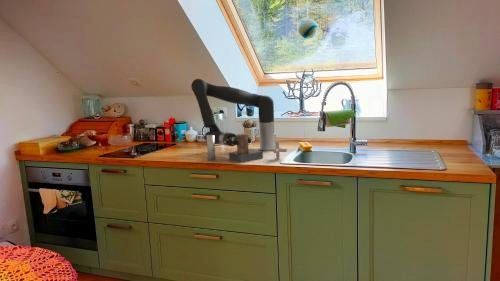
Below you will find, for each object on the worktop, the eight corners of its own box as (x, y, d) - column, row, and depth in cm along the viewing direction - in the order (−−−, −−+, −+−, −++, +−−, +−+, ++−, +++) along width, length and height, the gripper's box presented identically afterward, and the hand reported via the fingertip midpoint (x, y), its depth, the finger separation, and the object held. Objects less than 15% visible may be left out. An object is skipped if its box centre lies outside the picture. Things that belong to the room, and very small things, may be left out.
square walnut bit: (244, 158, 215) (243, 133, 213) (248, 159, 212) (247, 134, 209) (237, 159, 212) (236, 134, 210) (242, 160, 209) (241, 135, 207)
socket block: (251, 155, 222) (250, 148, 221) (262, 158, 213) (262, 151, 213) (229, 159, 213) (229, 152, 212) (241, 162, 204) (240, 155, 204)
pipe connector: (289, 157, 213) (288, 139, 211) (284, 161, 203) (283, 142, 202) (272, 156, 216) (271, 139, 215) (266, 160, 207) (265, 142, 206)
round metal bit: (213, 158, 217) (211, 134, 215) (217, 160, 213) (216, 135, 211) (206, 160, 214) (205, 135, 212) (210, 161, 211) (209, 136, 209)
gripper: (217, 134, 217) (233, 136, 204) (237, 131, 225) (254, 133, 212) (218, 147, 218) (234, 150, 205) (238, 143, 226) (255, 147, 214)
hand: (244, 142), depth 209 cm, fingers open, 8 cm apart
